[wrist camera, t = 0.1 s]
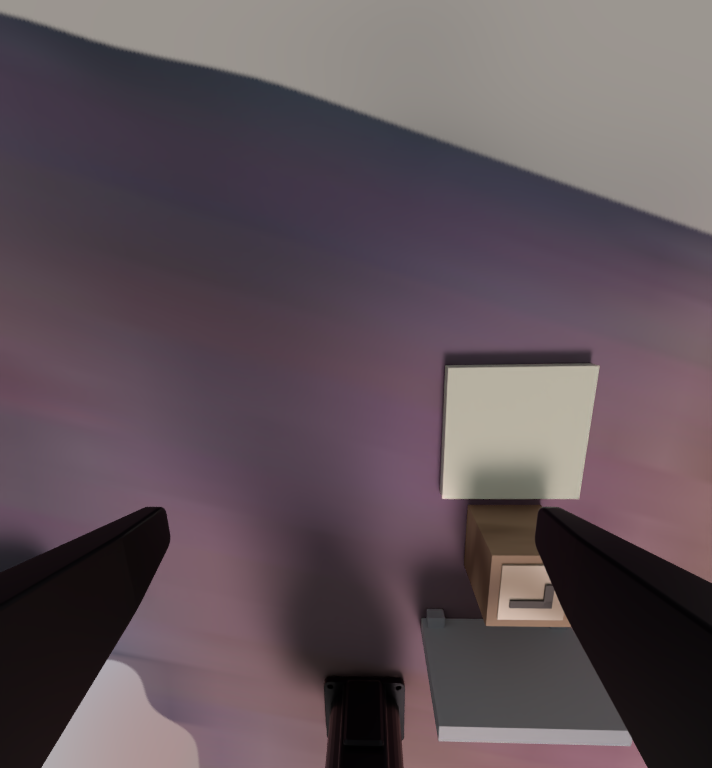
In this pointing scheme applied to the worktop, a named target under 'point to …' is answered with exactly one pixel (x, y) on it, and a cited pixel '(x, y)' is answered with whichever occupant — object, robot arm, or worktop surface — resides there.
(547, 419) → the coaster
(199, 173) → the worktop surface
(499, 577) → the letter cube
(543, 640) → the screen
